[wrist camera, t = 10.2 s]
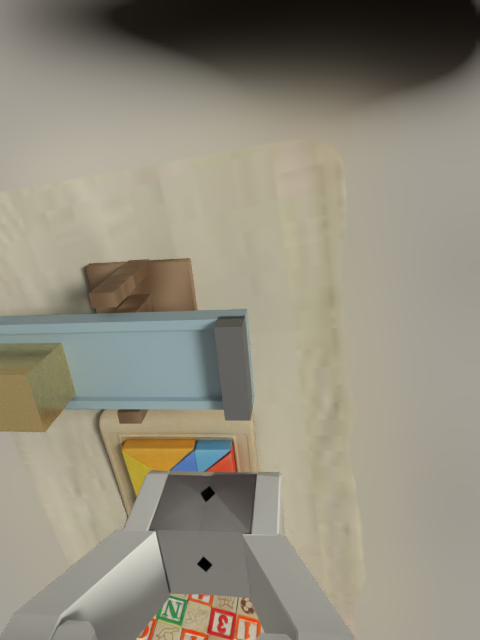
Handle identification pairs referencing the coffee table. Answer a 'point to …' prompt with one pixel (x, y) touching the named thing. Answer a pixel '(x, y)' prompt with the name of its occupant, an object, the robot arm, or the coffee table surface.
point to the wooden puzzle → (175, 445)
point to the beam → (150, 358)
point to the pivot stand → (141, 295)
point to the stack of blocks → (204, 619)
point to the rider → (33, 385)
